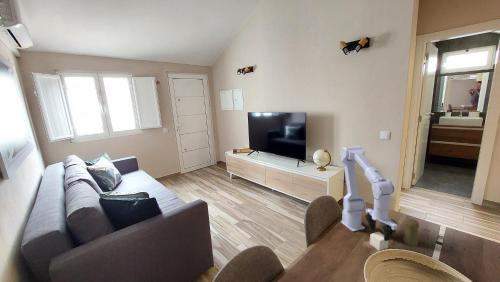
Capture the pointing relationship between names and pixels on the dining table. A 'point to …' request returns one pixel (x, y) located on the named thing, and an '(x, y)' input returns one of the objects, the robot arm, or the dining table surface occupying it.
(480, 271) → the dining table surface
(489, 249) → the dining table surface
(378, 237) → the offwhite cube
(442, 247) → the dining table surface
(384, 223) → the cup
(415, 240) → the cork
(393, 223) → the robot arm
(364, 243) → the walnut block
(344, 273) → the dining table surface
